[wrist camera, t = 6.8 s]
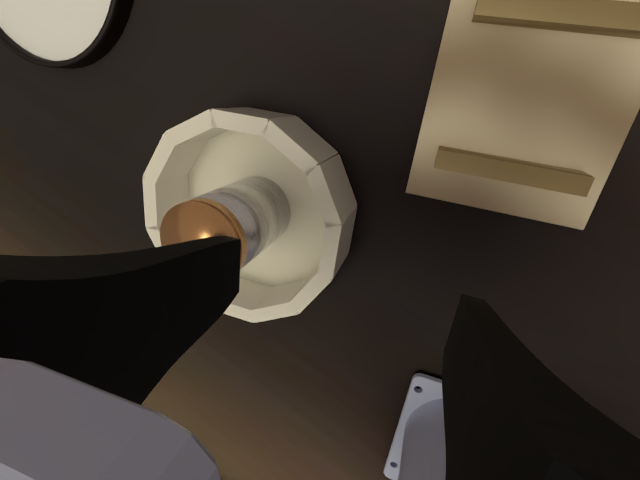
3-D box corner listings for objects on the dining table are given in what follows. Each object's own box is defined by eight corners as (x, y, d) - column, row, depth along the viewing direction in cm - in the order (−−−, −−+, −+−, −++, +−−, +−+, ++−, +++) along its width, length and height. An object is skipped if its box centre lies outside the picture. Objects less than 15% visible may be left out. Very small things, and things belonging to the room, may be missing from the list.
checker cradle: (576, 223, 17) (595, 241, 15) (407, 188, 19) (402, 200, 17) (690, -32, 13) (739, -58, 11) (462, -46, 15) (466, -70, 13)
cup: (337, 311, 23) (321, 345, 20) (184, 266, 26) (149, 289, 22) (371, 129, 19) (357, 135, 15) (182, 95, 21) (137, 95, 18)
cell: (286, 248, 22) (235, 297, 17) (227, 232, 23) (161, 273, 17) (294, 184, 20) (240, 214, 15) (230, 169, 21) (158, 192, 16)
